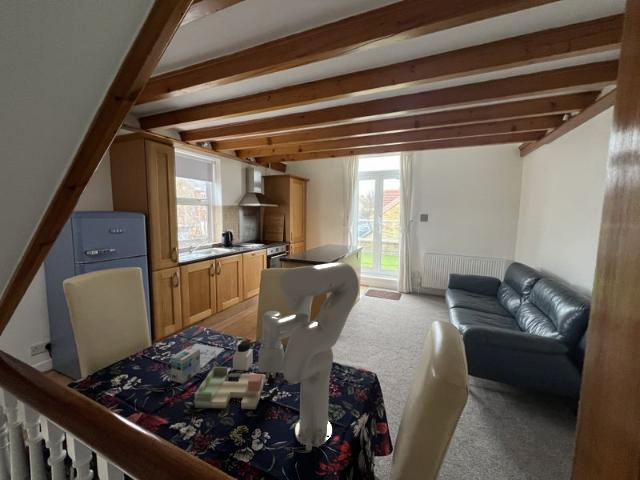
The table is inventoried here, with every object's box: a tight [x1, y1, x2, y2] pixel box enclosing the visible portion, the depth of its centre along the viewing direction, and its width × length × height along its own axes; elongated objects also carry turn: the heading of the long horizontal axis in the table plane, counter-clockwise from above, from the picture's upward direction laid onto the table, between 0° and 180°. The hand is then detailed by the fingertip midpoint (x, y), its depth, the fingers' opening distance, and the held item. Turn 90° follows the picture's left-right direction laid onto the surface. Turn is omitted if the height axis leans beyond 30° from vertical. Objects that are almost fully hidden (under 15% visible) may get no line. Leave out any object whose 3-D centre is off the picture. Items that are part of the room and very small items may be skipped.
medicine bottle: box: [232, 340, 253, 372], centre depth 127 cm, size 7×7×12 cm
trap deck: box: [194, 366, 267, 410], centre depth 108 cm, size 18×23×6 cm
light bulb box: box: [170, 346, 201, 384], centre depth 119 cm, size 11×7×11 cm, turn 161°
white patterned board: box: [168, 343, 225, 370], centre depth 136 cm, size 19×20×2 cm
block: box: [248, 375, 262, 391], centre depth 108 cm, size 4×4×4 cm
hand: (271, 385), depth 109 cm, fingers closed
